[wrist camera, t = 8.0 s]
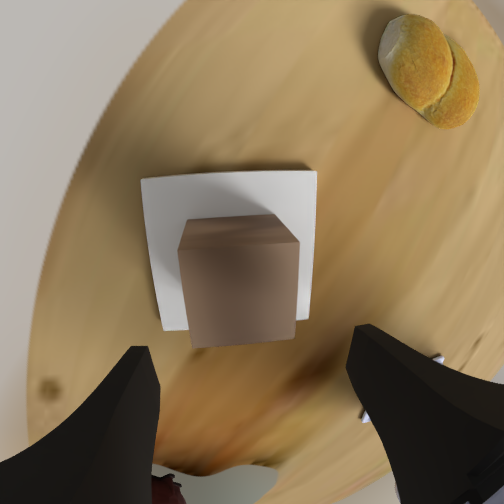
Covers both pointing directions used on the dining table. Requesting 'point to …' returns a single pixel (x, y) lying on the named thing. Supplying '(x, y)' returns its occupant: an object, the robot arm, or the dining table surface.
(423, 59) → the bread roll
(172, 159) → the dining table surface
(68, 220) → the dining table surface
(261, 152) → the dining table surface
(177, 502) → the mate gourd
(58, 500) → the robot arm
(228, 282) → the walnut block
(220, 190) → the grey tile
